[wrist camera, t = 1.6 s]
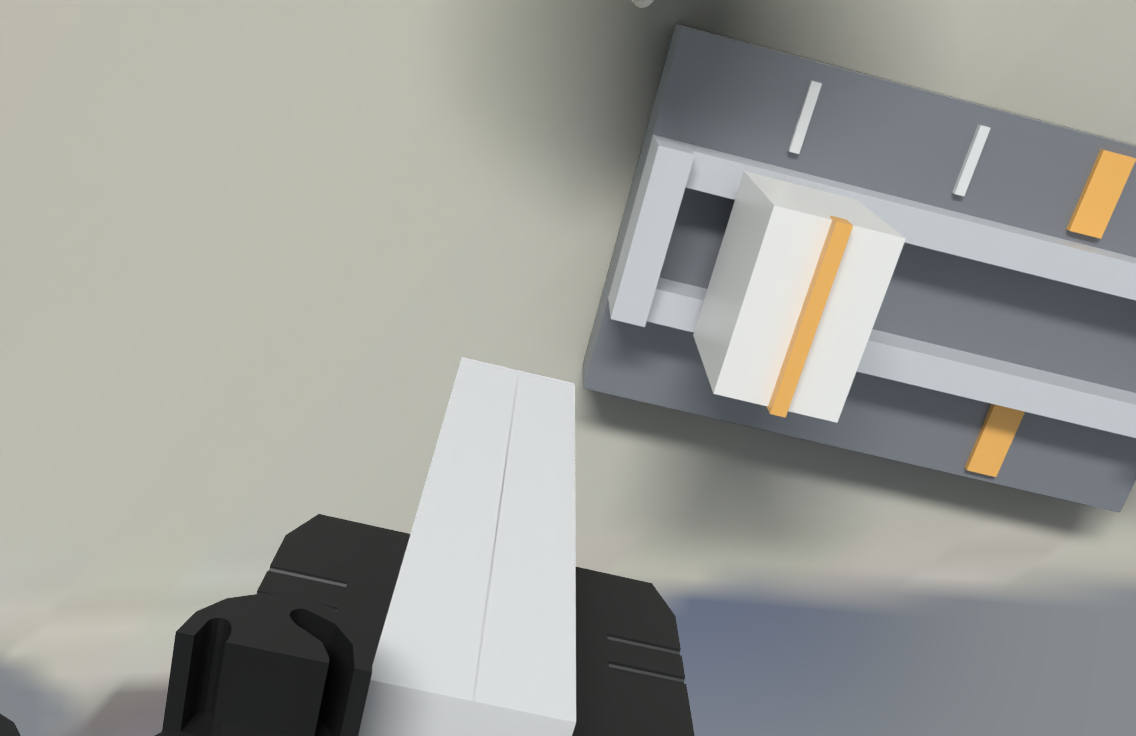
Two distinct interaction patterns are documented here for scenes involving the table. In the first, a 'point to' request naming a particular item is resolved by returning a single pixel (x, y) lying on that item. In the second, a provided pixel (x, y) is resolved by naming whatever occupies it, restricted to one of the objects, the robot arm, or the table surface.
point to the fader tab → (794, 297)
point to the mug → (642, 3)
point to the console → (897, 267)
